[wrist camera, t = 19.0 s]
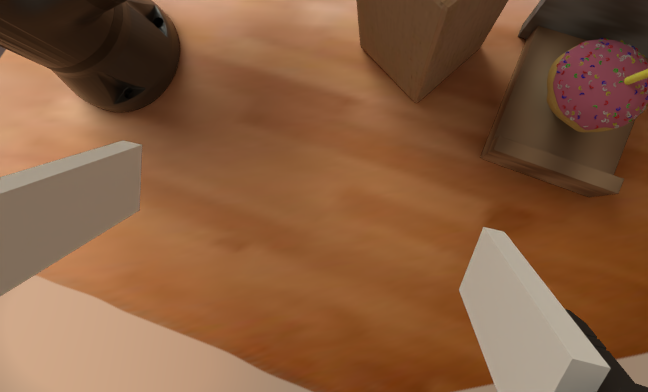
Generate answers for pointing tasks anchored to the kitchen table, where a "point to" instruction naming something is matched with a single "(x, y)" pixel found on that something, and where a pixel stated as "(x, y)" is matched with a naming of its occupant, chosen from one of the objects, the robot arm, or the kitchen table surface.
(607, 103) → the cupcake
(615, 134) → the wooden bookend
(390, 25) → the wooden block
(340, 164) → the kitchen table surface
